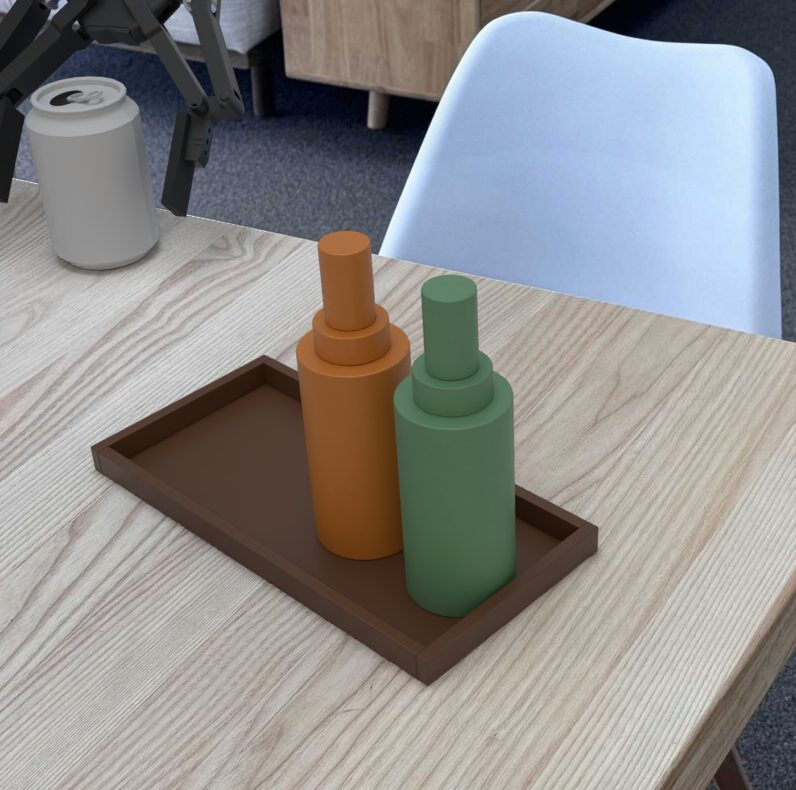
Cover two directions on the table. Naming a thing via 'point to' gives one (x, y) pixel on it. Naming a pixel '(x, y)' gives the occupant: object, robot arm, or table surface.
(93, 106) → the can
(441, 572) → the green bottle
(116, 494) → the table surface
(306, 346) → the amber bottle
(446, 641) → the tray
